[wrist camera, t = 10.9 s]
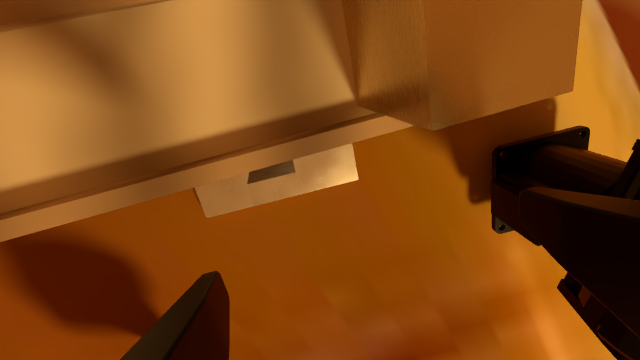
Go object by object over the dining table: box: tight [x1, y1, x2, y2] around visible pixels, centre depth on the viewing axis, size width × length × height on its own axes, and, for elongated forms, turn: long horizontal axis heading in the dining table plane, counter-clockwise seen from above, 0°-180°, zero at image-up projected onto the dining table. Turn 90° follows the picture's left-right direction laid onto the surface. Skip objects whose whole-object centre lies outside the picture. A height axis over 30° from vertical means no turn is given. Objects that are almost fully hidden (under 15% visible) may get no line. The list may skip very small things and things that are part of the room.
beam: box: [0, 0, 415, 242], centre depth 12 cm, size 28×8×2 cm, turn 102°
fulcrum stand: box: [194, 143, 358, 218], centre depth 16 cm, size 10×16×5 cm, turn 12°
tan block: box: [342, 0, 582, 131], centre depth 11 cm, size 5×5×6 cm
